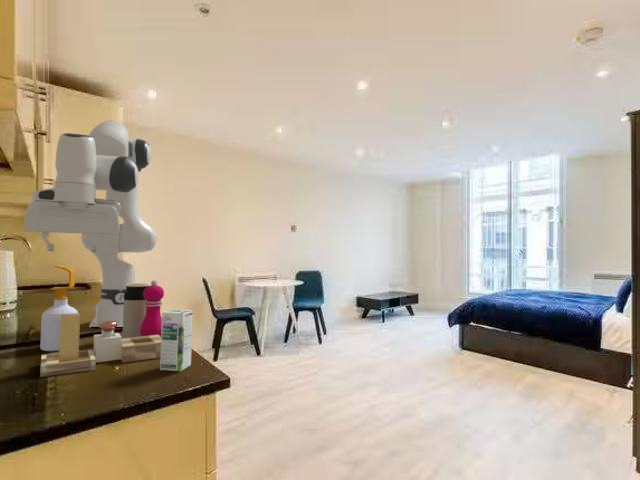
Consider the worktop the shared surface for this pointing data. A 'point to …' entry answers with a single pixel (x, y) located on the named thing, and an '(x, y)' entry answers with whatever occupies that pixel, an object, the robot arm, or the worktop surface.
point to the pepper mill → (152, 310)
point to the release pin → (107, 328)
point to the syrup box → (176, 340)
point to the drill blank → (69, 337)
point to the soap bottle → (56, 315)
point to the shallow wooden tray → (67, 364)
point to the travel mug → (133, 309)
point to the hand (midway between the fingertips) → (73, 251)
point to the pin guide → (107, 348)
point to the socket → (140, 348)
